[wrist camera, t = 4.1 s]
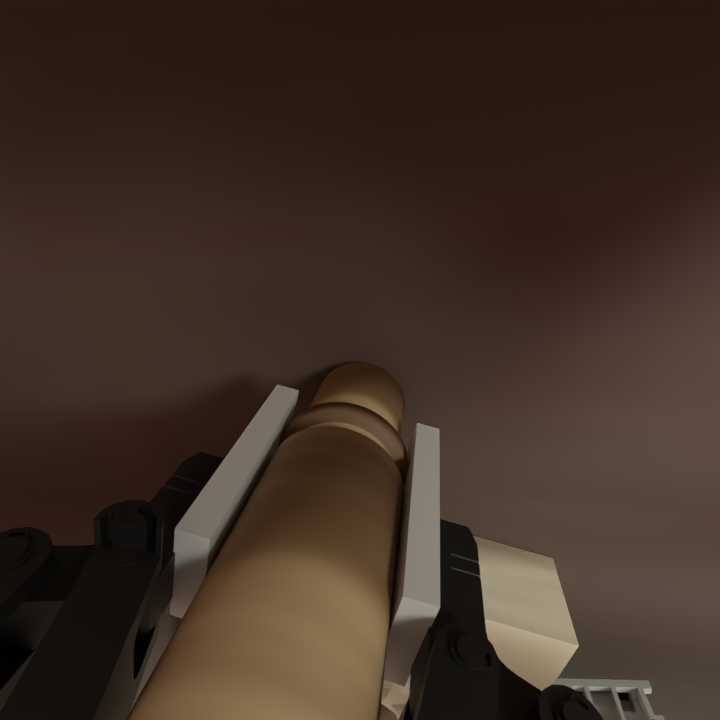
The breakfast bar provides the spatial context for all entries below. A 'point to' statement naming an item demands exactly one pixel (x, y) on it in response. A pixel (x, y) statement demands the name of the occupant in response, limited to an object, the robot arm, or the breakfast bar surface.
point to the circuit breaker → (615, 697)
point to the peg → (300, 574)
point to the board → (514, 619)
